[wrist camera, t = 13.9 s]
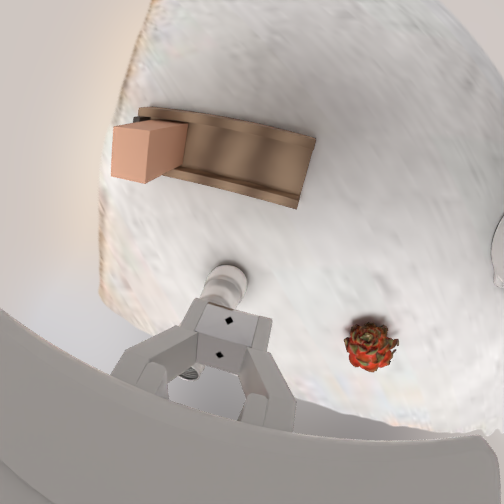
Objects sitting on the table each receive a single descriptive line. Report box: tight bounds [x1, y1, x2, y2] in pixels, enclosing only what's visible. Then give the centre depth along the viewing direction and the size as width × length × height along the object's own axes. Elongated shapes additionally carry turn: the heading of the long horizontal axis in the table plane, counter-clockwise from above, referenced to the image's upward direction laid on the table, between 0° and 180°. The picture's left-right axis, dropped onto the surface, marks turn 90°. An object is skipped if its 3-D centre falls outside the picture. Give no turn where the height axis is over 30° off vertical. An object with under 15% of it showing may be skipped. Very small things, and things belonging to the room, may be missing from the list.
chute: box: [133, 107, 316, 209], centre depth 35 cm, size 24×9×4 cm, turn 78°
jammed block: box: [111, 119, 188, 184], centre depth 32 cm, size 5×6×10 cm
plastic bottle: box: [178, 265, 247, 381], centre depth 38 cm, size 6×7×20 cm
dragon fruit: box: [344, 322, 399, 372], centre depth 44 cm, size 8×8×12 cm
